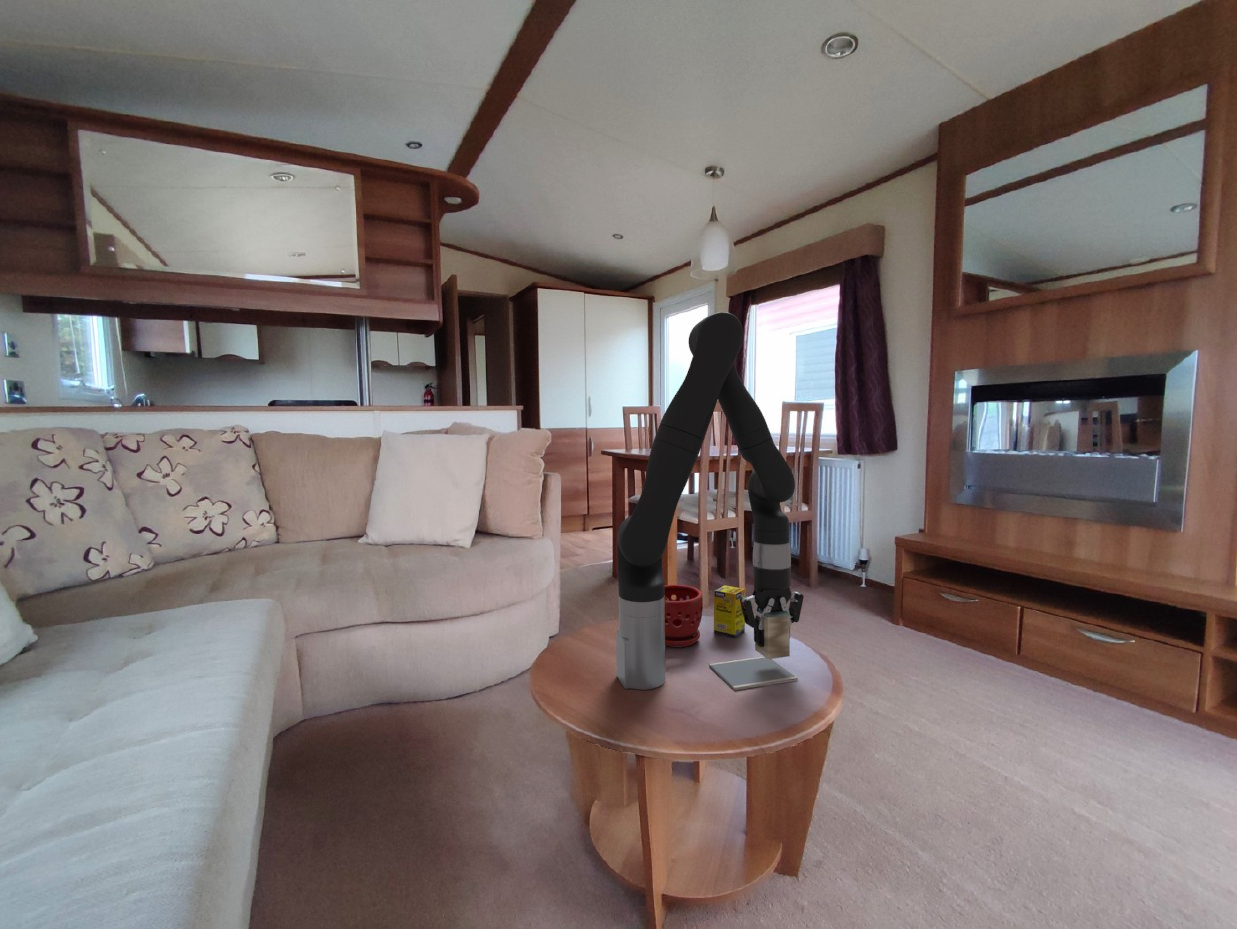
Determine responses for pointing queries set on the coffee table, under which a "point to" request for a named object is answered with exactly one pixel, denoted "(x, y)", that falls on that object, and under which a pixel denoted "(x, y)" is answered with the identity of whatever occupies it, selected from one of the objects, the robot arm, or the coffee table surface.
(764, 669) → the felt mat
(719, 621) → the supplement box
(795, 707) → the coffee table surface
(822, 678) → the coffee table surface
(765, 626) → the birch block
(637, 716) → the coffee table surface
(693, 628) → the plant pot
